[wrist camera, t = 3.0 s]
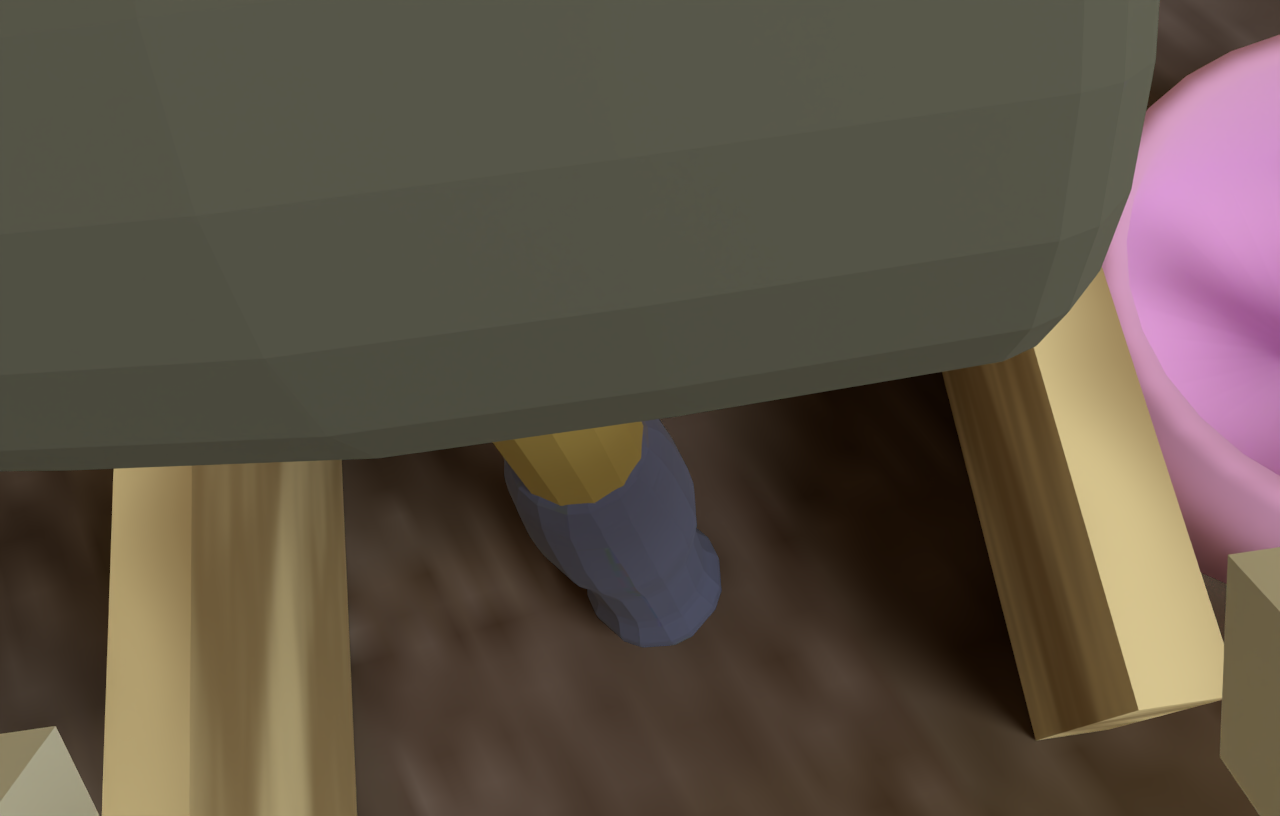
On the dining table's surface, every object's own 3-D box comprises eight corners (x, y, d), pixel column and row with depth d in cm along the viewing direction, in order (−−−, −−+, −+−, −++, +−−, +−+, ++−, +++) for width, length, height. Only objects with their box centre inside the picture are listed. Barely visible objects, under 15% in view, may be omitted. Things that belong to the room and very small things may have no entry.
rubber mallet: (848, 457, 35) (1080, -924, 7) (878, 700, 33) (1425, 14, 5) (465, 490, 36) (-607, -577, 8) (464, 727, 34) (-1090, 318, 6)
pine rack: (293, 851, 33) (100, 866, 24) (278, 215, 41) (128, 39, 32) (1106, 729, 32) (1240, 694, 22) (929, 91, 39) (973, -133, 30)
